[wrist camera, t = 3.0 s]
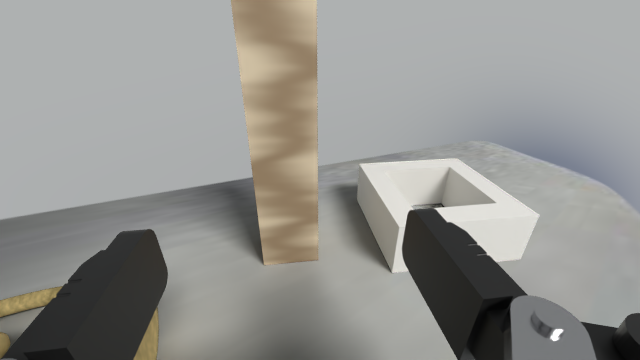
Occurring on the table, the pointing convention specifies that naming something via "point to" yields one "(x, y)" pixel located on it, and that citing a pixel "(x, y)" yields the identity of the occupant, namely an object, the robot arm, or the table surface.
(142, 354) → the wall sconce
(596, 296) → the table surface
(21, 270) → the table surface
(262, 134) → the wooden l-shaped block
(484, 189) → the square well
